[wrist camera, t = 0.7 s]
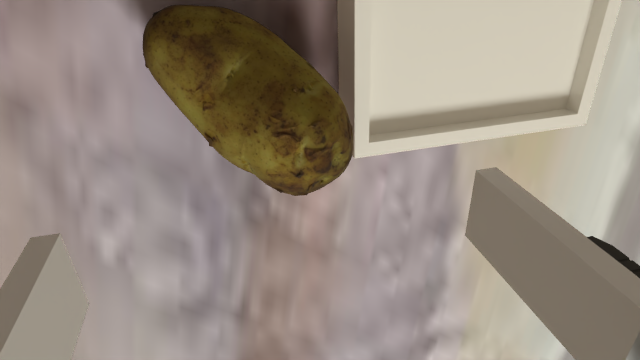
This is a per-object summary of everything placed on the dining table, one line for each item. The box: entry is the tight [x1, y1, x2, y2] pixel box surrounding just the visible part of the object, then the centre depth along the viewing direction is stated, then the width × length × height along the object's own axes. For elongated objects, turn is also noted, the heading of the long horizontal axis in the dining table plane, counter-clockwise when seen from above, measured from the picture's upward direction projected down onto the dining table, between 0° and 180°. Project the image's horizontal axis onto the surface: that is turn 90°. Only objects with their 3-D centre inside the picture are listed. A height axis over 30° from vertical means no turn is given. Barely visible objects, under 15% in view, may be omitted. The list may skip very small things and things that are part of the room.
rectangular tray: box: [337, 0, 622, 158], centre depth 27 cm, size 18×18×4 cm
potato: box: [143, 5, 353, 196], centre depth 25 cm, size 8×13×8 cm, turn 29°
